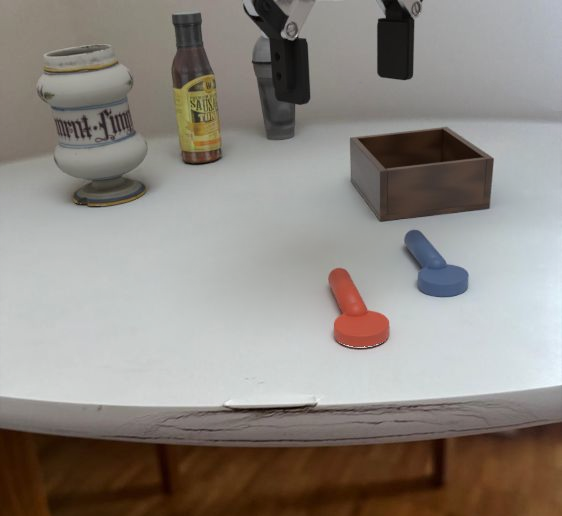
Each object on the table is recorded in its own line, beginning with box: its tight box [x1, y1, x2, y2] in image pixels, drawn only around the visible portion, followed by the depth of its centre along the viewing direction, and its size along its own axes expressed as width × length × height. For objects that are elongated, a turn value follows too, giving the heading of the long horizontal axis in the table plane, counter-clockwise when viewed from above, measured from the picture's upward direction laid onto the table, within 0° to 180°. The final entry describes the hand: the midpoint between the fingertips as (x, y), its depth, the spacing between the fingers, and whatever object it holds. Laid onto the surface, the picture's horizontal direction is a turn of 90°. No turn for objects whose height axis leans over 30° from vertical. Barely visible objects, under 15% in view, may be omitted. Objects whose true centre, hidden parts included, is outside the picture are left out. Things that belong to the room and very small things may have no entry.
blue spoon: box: [403, 229, 470, 298], centre depth 65 cm, size 12×4×2 cm, turn 7°
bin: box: [349, 126, 495, 222], centre depth 83 cm, size 13×16×6 cm
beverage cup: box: [251, 35, 296, 141], centre depth 108 cm, size 7×7×20 cm
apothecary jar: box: [36, 43, 149, 207], centre depth 89 cm, size 12×12×18 cm
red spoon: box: [327, 267, 390, 347], centre depth 59 cm, size 12×4×2 cm, turn 7°
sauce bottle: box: [170, 11, 222, 164], centre depth 100 cm, size 7×6×20 cm
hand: (346, 89), depth 50 cm, fingers open, 9 cm apart
